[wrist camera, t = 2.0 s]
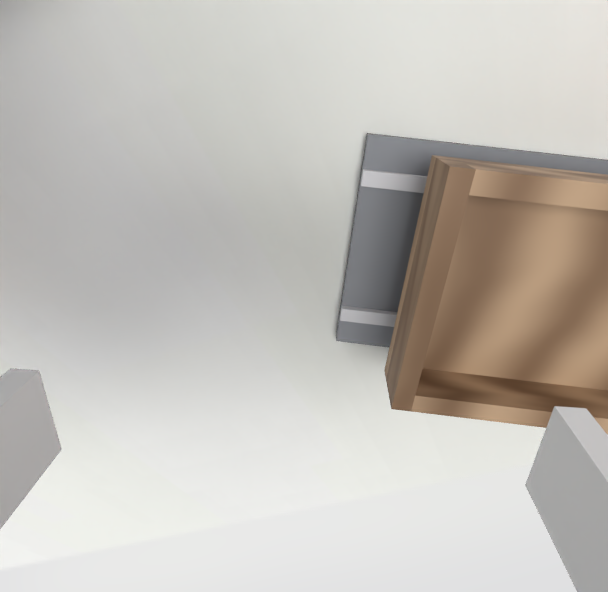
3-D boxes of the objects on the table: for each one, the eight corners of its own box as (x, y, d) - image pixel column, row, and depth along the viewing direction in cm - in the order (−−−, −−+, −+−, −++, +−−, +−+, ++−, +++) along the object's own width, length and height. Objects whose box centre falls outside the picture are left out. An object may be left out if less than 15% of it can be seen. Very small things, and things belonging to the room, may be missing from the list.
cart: (380, 347, 32) (391, 408, 26) (422, 148, 26) (450, 166, 20) (637, 377, 32) (711, 447, 26) (742, 184, 26) (875, 214, 19)
